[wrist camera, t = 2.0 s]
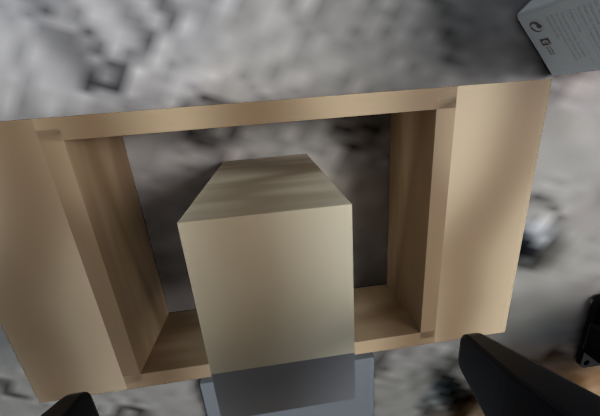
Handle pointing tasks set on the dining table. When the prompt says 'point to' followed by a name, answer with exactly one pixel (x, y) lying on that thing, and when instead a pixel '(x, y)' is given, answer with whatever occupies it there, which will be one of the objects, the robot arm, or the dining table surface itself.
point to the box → (273, 284)
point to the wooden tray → (185, 325)
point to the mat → (349, 412)
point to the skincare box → (564, 33)
